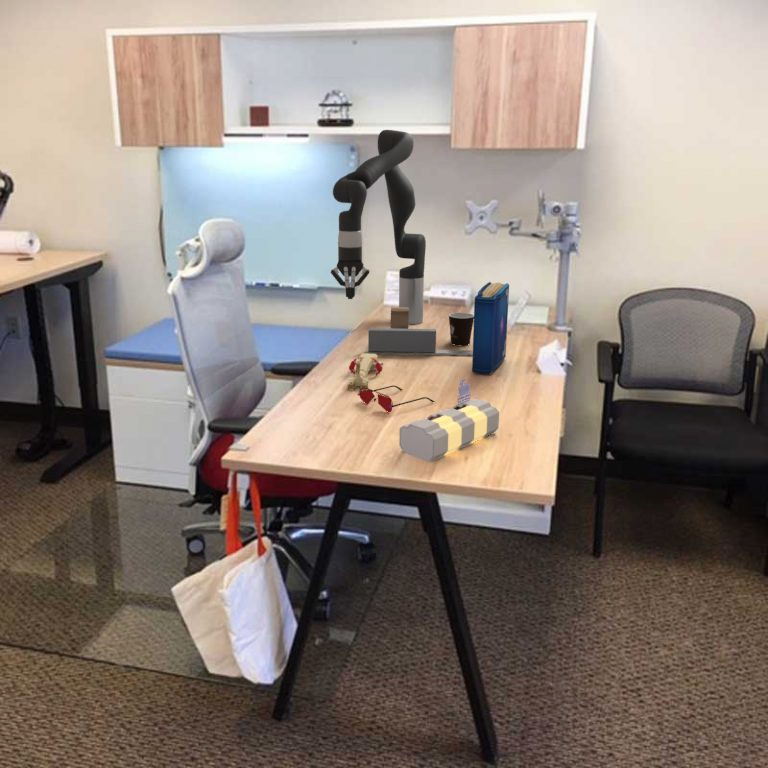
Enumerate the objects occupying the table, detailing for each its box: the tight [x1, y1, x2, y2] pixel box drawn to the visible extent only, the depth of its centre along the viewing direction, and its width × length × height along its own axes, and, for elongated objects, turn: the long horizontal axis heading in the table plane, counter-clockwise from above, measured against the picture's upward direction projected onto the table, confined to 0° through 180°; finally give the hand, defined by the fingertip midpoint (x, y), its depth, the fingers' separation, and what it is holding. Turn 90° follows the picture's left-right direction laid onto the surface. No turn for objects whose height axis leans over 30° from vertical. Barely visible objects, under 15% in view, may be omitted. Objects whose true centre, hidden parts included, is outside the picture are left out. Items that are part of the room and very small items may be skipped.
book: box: [471, 281, 510, 375], centre depth 252 cm, size 22×7×25 cm, turn 161°
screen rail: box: [364, 348, 473, 357], centre depth 270 cm, size 4×40×1 cm, turn 88°
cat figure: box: [347, 352, 384, 390], centre depth 243 cm, size 10×9×25 cm
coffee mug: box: [448, 312, 474, 346], centre depth 282 cm, size 12×9×10 cm
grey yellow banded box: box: [398, 379, 500, 463], centre depth 193 cm, size 25×10×13 cm, turn 138°
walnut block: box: [390, 306, 409, 329], centre depth 280 cm, size 6×6×12 cm
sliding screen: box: [367, 327, 437, 352], centre depth 269 cm, size 3×22×7 cm, turn 88°
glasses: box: [357, 385, 436, 413], centre depth 223 cm, size 14×16×5 cm
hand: (350, 298), depth 265 cm, fingers closed
